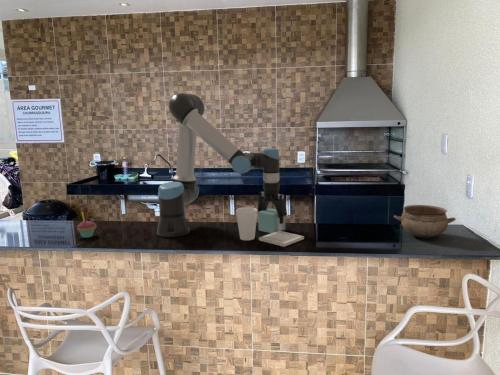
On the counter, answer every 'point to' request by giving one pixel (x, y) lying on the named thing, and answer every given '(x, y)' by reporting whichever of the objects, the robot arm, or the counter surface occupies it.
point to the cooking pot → (424, 220)
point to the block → (269, 221)
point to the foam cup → (247, 222)
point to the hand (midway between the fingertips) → (271, 228)
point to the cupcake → (86, 228)
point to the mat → (281, 238)
